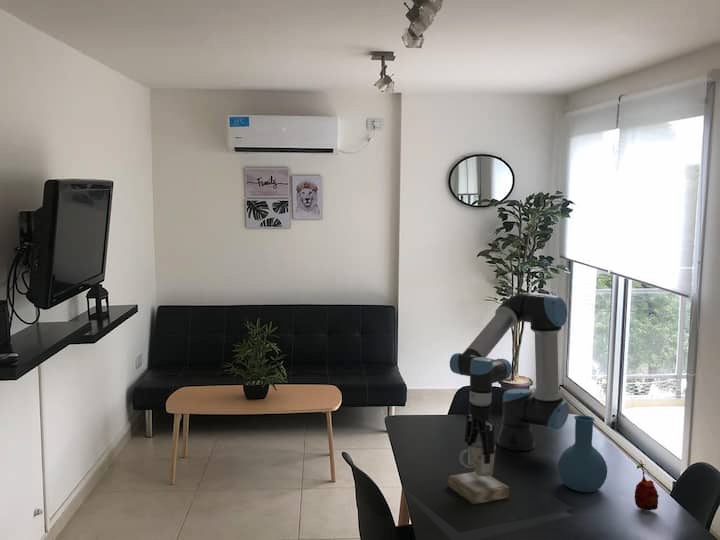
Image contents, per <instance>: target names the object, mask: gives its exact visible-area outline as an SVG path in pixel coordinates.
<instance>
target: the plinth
mask: <svg viewBox="0 0 720 540" xmlns="http://www.w3.org/2000/svg"><path fill="white" fill-rule="evenodd" d="M448 487H449V488H450V489H452V491H455V492H456V493H457V494H459V495H460V496H461V497H463V498H464V499H466V501H468V502H470V503H471V504H472V505H476V504H482V503H488V502H492V501H498V500H502V499H503V500H504V499H509V498H510V497H509V496H510V495H509V494H510V491H509V489H510V487H509V486H508V485H507V484H505V483H503V482H501V481H500V480H498V479H496V478H495V477H493V476H492V475H491V476H478V475H476V474H475V471H473V472H472V471H471V472H465V473H459V474H452V475H449V476H448Z"/></svg>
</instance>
